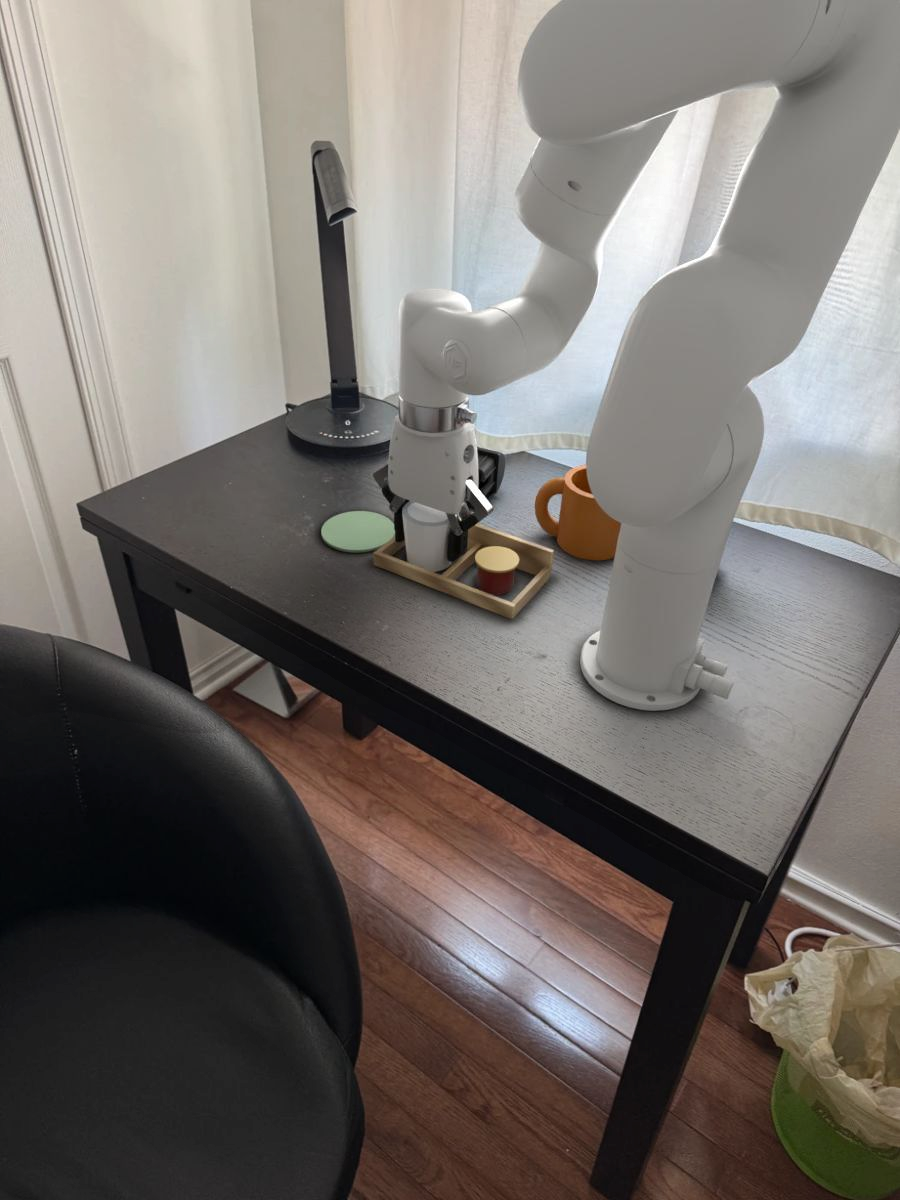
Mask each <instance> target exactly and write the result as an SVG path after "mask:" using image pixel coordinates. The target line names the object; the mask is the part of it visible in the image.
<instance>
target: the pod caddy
mask: <svg viewBox="0 0 900 1200" xmlns="http://www.w3.org/2000/svg"><path fill="white" fill-rule="evenodd" d="M459 519H460V521H461V518H460V516H459ZM405 546H406V544H405V540H403V541H402V542H400V543H399V542H396V541H395V537H393V538H392V539H391V540H390V541H388V542H387V543H386V544H384V545H383V546H382V547H380V548H379V549H377V550H374V551H373V552H372V555H373V557H372V558H373V559H372V560H373V566H375V567H378V568H381V569H382V570H386V571H388V572H390V573H393V574H396V575H398V576H401V577H403V578H405V579H408V580H411V581H413V582H416V583H418V584H421V585H423V586H425V587H429V588H431V589H434V590H436V591H439V592H441V593H444V594H446V595H449V596H452V597H454V598H456V599H459V600H462V601H464V602H467V603H469V604H472V605H474V606H476V607H479V608H482V609H484V610H487V611H490V612H492V613H494V614H497V615H500V616H502V617H505V618H507V619H510V620H513V619H514V618H515V617H516V616H517V615H518V614H519V613H520V612H521V611H522V610H523V608H524V607H525V606H526V605H527V604H528V603H530V601H531V599H533V598H534V596H535V595H536V594H537V593H538V592H539V591H540V590H541V589H542V588H543V586H544V585H545V584H546V583H547V582H549V580H550V579H551V576H552V571H553V570H552V569H553V563H554V555H555V549H553V548H549V547H546V546H543V545H540V544H538V543H535V542H532V541H529V540H526V539H523V538H521V537H518V536H515V535H511V534H509V533H506V532H504V531H500V530H497V529H494V528H492V527H488V526H485V525H482V524H480V523H477V524H476V525H475V526H473V527H472V528H470V529H468V544H467V550H466V552H465V553H464V554H463V555H461V556H460V557H459V558H458V559H457V560H455V561H454V562H453V564H451V565H450V566H449V567H448V568H447V569H446V570H445V571H444V572H443V573H442V574H438V573H436V572H431V571H428V570H426V569H423V568H421V567H418V566H415V565H413V564H410V563H408V561H405V560H402V559H400V558H397V557H394V556H393V555H394V554H396V553H397V552H399V550H400V549H402V548H404V547H405ZM490 546H500V547H505V548H508V549H511V550H512V551H514V552H515V553H516V554H517V555H518V557H519V564H518V566H517V567H516V568H515V569H517V570H520V571H523V572H526V573H528V574H531V575H534V577H533V578H532V579H531V580H530V581H529V582H528V584H527V585H526V586H524V588H523V589H521V591H520V592H519V593H518V594H517V595H516V596H515V597H514V598H513V599H512V601H509V600H506V599H504V598H502V597H498V596H497V595H494V594H489V593H486V592H484V591H482V590H481V589H479V588H475V587H473V586H469V585H467V584H464V583H462V582H460V581H457V579H458V578H460V577H461V576H462V575H463V574H464V573H465V572H466V571H467V570H468V569H469V568H470V567H471V566H472V565H473V564H475V563H476V562H475V555H476V553H477V552H478V551H479V550H481V549H483V548H485V547H490Z"/></svg>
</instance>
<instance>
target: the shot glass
mask: <svg viewBox="0 0 900 1200" xmlns="http://www.w3.org/2000/svg"><path fill="white" fill-rule="evenodd" d="M402 516H403V526H404V535H405V544H406V545H405V551H406V553H405V554H406V560H407V561H406V562H408V563H410V564H413V565H415V566H418V567H421V568H423V569H426V570H428V571H431V572H434V573H436V572H440V571H444V570H445V569H448V568H450V566H451V565H452V563H453V562H450V561H448V559H447V552H448V534H449V533H450V532H451V531H452V528H451V525H450V523H449V520H448V518H447V515H446V513H445V512H442V511H439V510H436V509H433V508H430V507H427V506H424V505H421V504H419V503H416V502H413V501H410V502H408V503H407V504H406V505H405V506H404V507H403V510H402ZM458 516H459V517H460V515H459V513H458Z"/></svg>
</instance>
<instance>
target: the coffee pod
mask: <svg viewBox="0 0 900 1200" xmlns="http://www.w3.org/2000/svg"><path fill="white" fill-rule="evenodd" d="M474 563H475V564H476V566H477V570H476V586H477V587H478V589H479V590H480V591H483V592H486V593H488V594H491V595H503V594H507V593H509V592H510V591H511V590H512V589H513V587H514V583H515V573H516V569H517V568H516V567H517V566H518V564H519V557H518V555H517V554H516V553H515V552H514V551H512V550H511V549H508V548H505V547H500V546H490V547H485V548H483V549H481V550H479V551H478V552H477V553H476V555H475V562H474Z"/></svg>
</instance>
